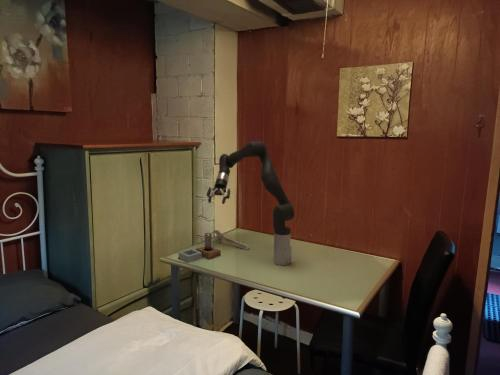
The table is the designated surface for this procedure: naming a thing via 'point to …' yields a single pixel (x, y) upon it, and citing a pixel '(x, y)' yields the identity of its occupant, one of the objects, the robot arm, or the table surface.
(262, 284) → the table surface
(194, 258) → the seat block
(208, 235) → the axle
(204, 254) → the beam block
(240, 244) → the wrench
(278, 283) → the table surface
